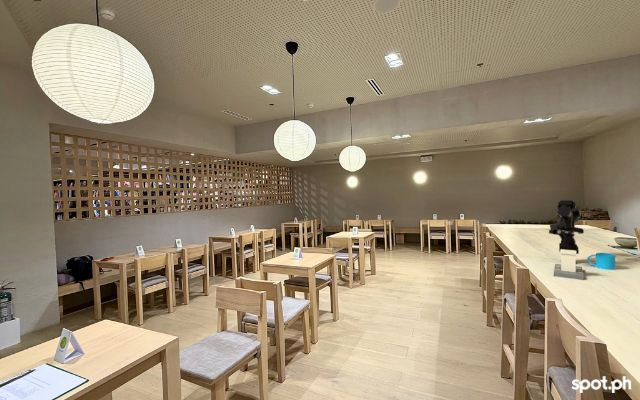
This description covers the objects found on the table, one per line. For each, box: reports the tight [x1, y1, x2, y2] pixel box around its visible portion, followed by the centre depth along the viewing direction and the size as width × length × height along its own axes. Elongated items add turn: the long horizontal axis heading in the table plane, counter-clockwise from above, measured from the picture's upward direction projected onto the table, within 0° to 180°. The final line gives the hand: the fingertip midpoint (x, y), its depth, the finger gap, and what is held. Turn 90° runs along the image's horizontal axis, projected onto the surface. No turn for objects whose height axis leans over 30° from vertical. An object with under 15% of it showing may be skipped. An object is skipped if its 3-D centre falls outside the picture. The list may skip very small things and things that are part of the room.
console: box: [553, 263, 584, 281], centre depth 163 cm, size 22×12×2 cm, turn 139°
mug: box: [587, 252, 616, 271], centre depth 172 cm, size 12×8×8 cm
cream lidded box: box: [559, 249, 577, 272], centre depth 160 cm, size 4×7×11 cm, turn 49°
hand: (564, 245), depth 175 cm, fingers closed
